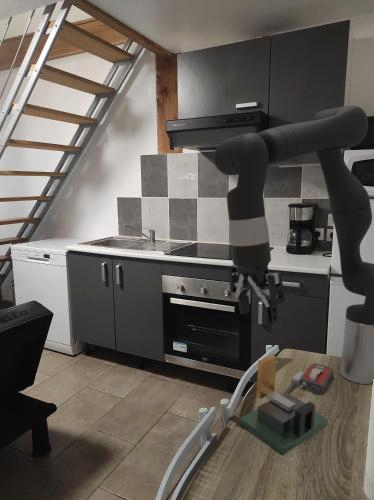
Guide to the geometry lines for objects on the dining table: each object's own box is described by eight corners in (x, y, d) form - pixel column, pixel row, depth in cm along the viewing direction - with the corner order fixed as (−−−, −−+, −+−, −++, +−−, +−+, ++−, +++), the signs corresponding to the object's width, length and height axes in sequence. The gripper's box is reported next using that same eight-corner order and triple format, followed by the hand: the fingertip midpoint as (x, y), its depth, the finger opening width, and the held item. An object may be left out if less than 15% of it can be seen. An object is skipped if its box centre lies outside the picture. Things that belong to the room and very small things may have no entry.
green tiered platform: (284, 400, 93) (285, 374, 92) (326, 424, 84) (329, 396, 83) (239, 424, 84) (241, 395, 82) (282, 454, 74) (284, 423, 73)
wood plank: (270, 389, 89) (272, 355, 88) (298, 405, 83) (301, 368, 81) (256, 396, 86) (258, 360, 85) (284, 413, 80) (287, 375, 78)
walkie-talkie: (304, 368, 111) (280, 398, 95) (305, 354, 110) (281, 383, 94) (335, 377, 106) (314, 411, 90) (336, 363, 105) (315, 394, 89)
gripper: (289, 239, 68) (297, 321, 70) (242, 234, 80) (250, 305, 83) (257, 247, 64) (267, 333, 67) (214, 241, 77) (223, 314, 79)
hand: (258, 318), depth 75 cm, fingers open, 8 cm apart
